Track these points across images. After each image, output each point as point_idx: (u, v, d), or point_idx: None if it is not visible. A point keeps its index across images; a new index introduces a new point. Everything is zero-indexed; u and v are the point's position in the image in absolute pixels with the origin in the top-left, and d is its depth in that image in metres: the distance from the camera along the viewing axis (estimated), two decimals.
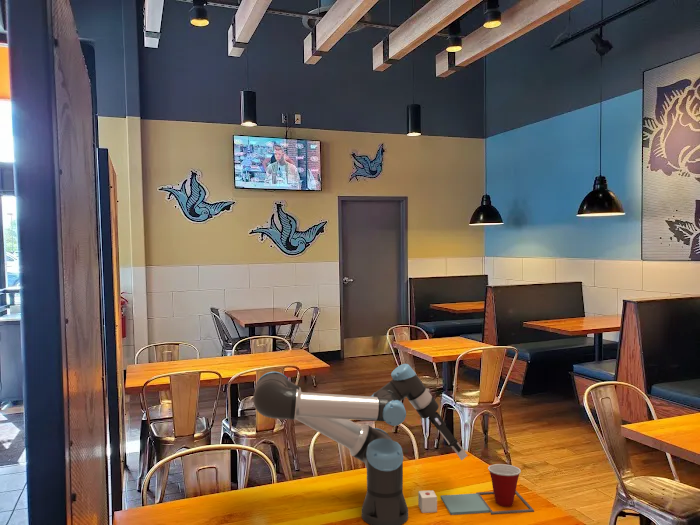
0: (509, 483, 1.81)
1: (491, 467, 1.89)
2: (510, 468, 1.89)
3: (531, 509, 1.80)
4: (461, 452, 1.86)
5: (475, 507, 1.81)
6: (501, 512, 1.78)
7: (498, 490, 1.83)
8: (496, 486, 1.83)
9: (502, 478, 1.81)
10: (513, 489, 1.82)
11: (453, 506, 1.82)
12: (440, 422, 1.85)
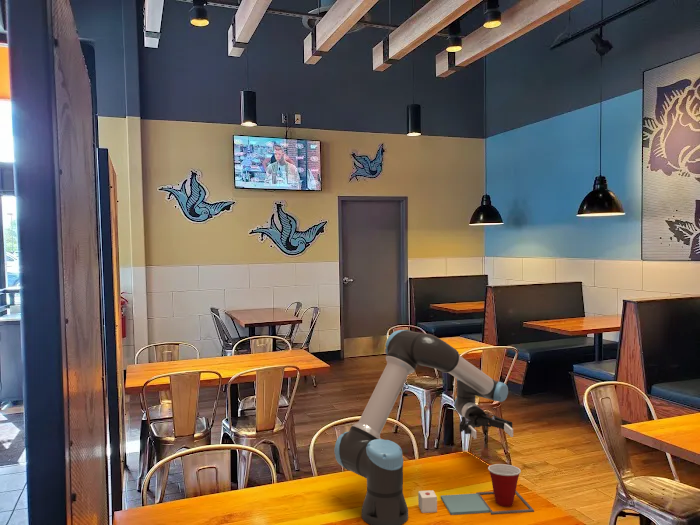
0: (509, 483, 1.81)
1: (491, 467, 1.89)
2: (510, 468, 1.89)
3: (531, 509, 1.80)
4: None
5: (475, 507, 1.81)
6: (501, 512, 1.78)
7: (498, 490, 1.83)
8: (496, 486, 1.83)
9: (502, 478, 1.81)
10: (513, 489, 1.82)
11: (453, 506, 1.82)
12: None
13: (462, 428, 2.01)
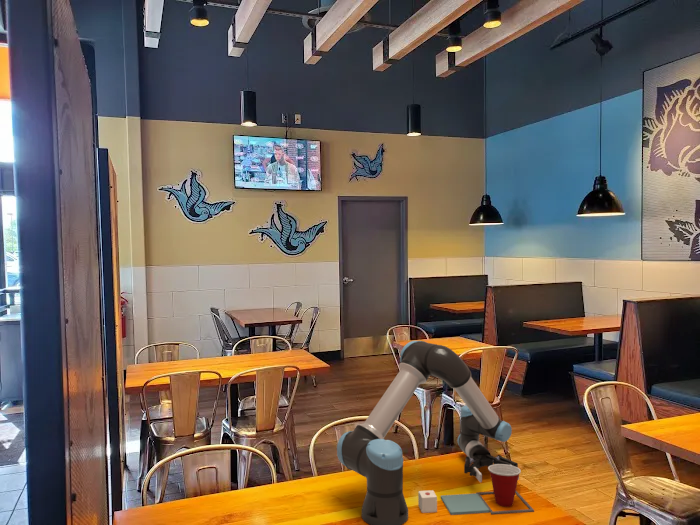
0: (509, 483, 1.81)
1: (491, 467, 1.89)
2: (510, 468, 1.89)
3: (531, 509, 1.80)
4: None
5: (475, 507, 1.81)
6: (501, 512, 1.78)
7: (498, 490, 1.83)
8: (496, 486, 1.83)
9: (502, 478, 1.81)
10: (513, 489, 1.82)
11: (453, 506, 1.82)
12: None
13: (467, 470, 1.97)
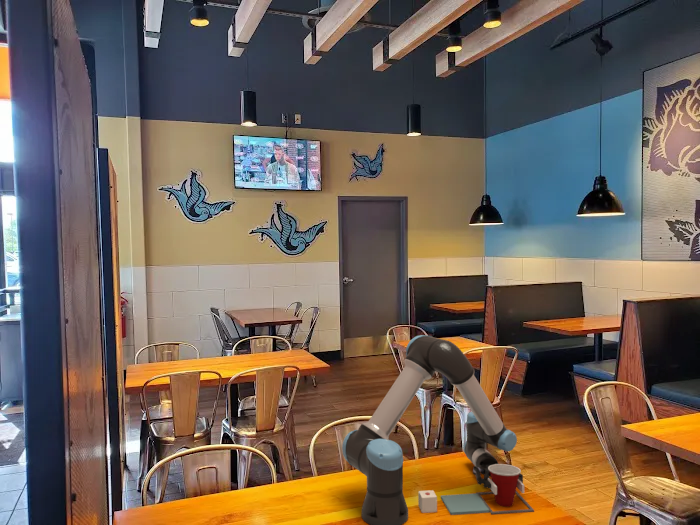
0: (509, 483, 1.81)
1: (491, 467, 1.89)
2: (510, 468, 1.89)
3: (531, 509, 1.80)
4: None
5: (475, 507, 1.81)
6: (501, 512, 1.78)
7: (498, 490, 1.83)
8: None
9: (502, 478, 1.81)
10: (513, 489, 1.82)
11: (453, 506, 1.82)
12: None
13: (481, 481, 1.88)
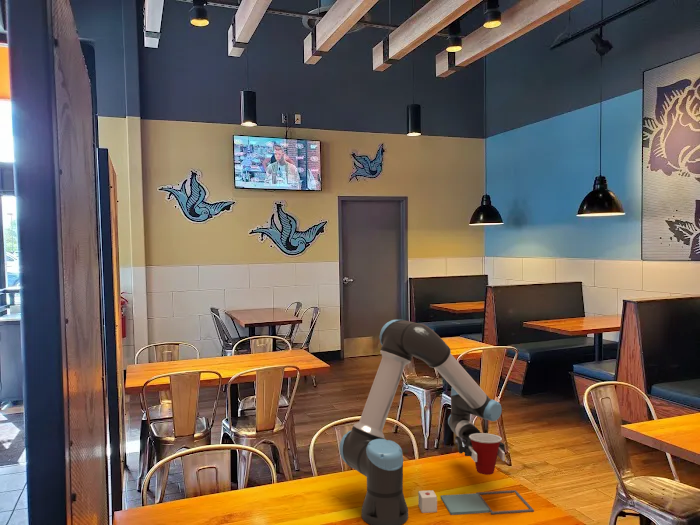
0: (489, 451, 1.80)
1: (472, 436, 1.88)
2: (492, 437, 1.88)
3: (531, 509, 1.80)
4: None
5: (475, 507, 1.81)
6: (501, 512, 1.78)
7: (478, 458, 1.82)
8: (477, 454, 1.82)
9: (483, 446, 1.81)
10: (494, 457, 1.81)
11: (453, 506, 1.82)
12: None
13: (462, 449, 1.87)
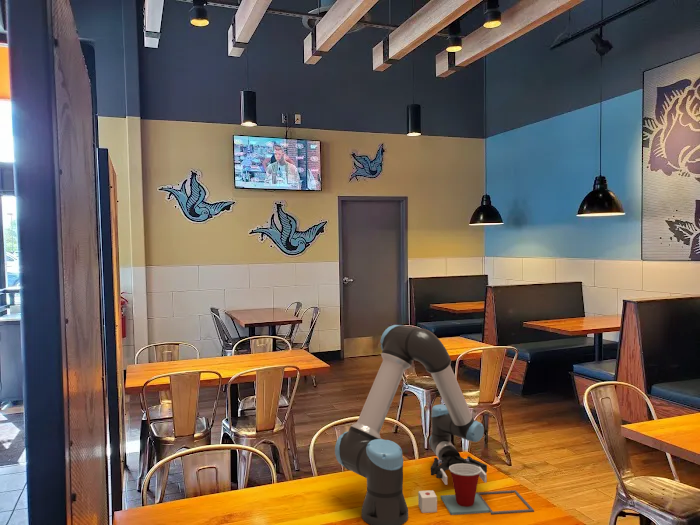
0: (469, 483, 1.80)
1: (452, 467, 1.87)
2: (471, 467, 1.88)
3: (531, 509, 1.80)
4: None
5: (475, 507, 1.81)
6: (501, 512, 1.78)
7: (458, 490, 1.82)
8: (457, 486, 1.82)
9: (462, 478, 1.80)
10: (473, 489, 1.81)
11: (453, 506, 1.82)
12: None
13: (433, 472, 1.90)
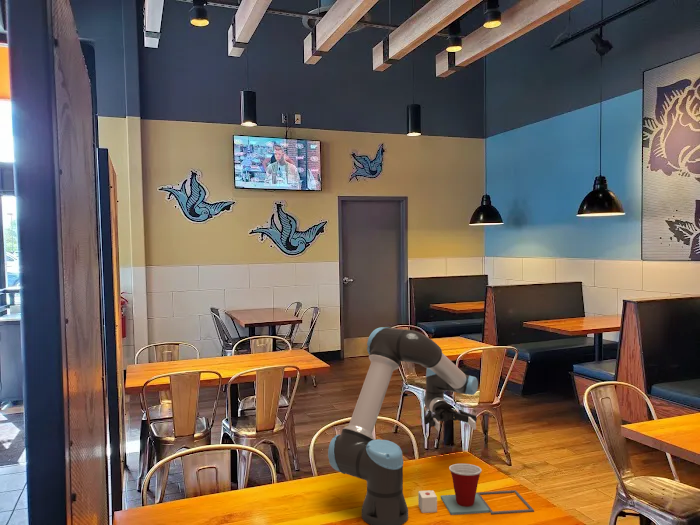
0: (469, 483, 1.80)
1: (452, 467, 1.87)
2: (472, 467, 1.88)
3: (531, 509, 1.80)
4: None
5: (475, 507, 1.81)
6: (501, 512, 1.78)
7: (458, 490, 1.82)
8: (457, 486, 1.82)
9: (462, 478, 1.80)
10: (474, 489, 1.81)
11: (453, 506, 1.82)
12: None
13: (427, 421, 2.06)
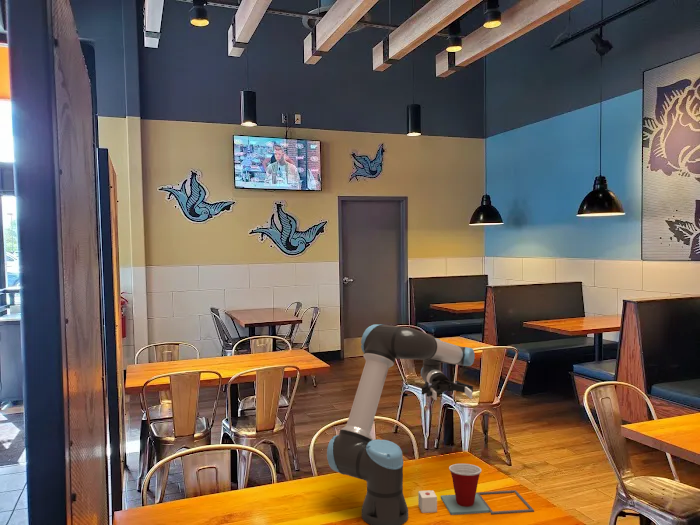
0: (469, 483, 1.80)
1: (452, 467, 1.87)
2: (471, 467, 1.88)
3: (531, 509, 1.80)
4: None
5: (475, 507, 1.81)
6: (501, 512, 1.78)
7: (458, 490, 1.82)
8: (457, 486, 1.82)
9: (462, 478, 1.80)
10: (473, 489, 1.81)
11: (453, 506, 1.82)
12: None
13: (424, 391, 2.08)
